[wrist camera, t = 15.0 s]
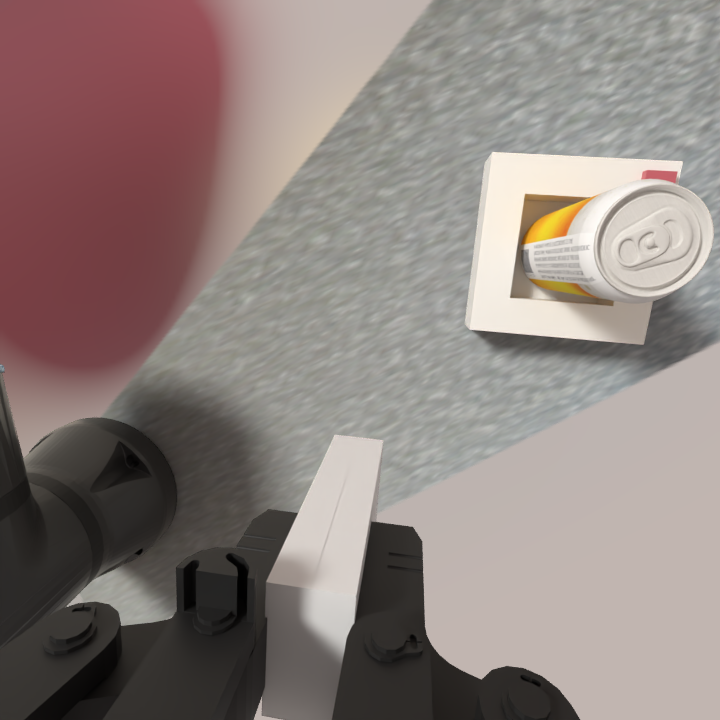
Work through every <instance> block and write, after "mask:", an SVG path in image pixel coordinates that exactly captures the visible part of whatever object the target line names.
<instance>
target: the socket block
mask: <svg viewBox="0 0 720 720" xmlns="http://www.w3.org/2000/svg"><path fill="white" fill-rule="evenodd" d="M682 164H683V161H664V160H643V159H622V158H602V157H581V156H561V155H540V154H519V153H499V152H492V153H491V155H490V156H489V158H488V159H487V161H486V162H485V166H484V174H483V182H482V190H481V198H480V206H479V214H478V222H477V230H476V238H475V246H474V254H473V262H472V270H471V278H470V286H469V294H468V302H467V310H466V318H465V325H466V326H467V327H468V328H469V329H470V330H481V331H492V332H503V333H515V334H526V335H537V336H549V337H560V338H572V339H583V340H594V341H606V342H617V343H628V344H640V345H644V341H645V337H646V332H647V327H648V323H649V318H650V313H651V309H652V304H653V301H651V302H647V303H637V304H633V303H624V302H618V301H612V300H606V299H600V298H594V297H588V296H583V295H577V294H571V293H565V292H559V291H553V290H548V289H544V288H541V287H539V286H537V285H536V284H534V283H533V282H532V281H531V280H530V279H529V278H528V277H527V276H526V275H525V273H524V271H523V269H522V266H521V263H520V246H521V242H522V239H523V237H524V235H525V233H526V232H527V230H528V229H529V228H530V226H531V225H532V224H533V223H534V222H536V221H537V220H538V219H540V218H541V217H543V216H545V215H547V214H550V213H552V212H555V211H557V210H560V209H562V208H565V207H568V206H570V205H573V204H575V203H578V202H580V201H583V200H586V199H588V198H591V197H593V196H596V195H598V194H601V193H603V192H606V191H609V190H611V189H614V188H616V187H619V186H621V185H624V184H627V183H630V182H633V181H637V180H642V179H660V180H666V181H669V182H673V183H675V184H677V185H678V182H679V178H680V173H681V168H682Z"/></svg>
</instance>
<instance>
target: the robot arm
mask: <svg viewBox="0 0 720 720" xmlns="http://www.w3.org/2000/svg"><path fill="white" fill-rule="evenodd" d="M3 372H4V366H3V365H1V364H0V720H254V717H255V714H256V711H257V708H258V705H259V703H260V700H261V697H262V716H267V717H272V718H278V719H284V720H580V719H579V717H578V715H577V714H576V712H575V710H574V709H573V707H572V706H571V704H570V703H569V702H568V700H567V699H566V698H565V697H564V695H563V694H562V693H561V692H560V690H559V689H558V688H556V687H555V686H554V685H552V684H551V683H550V682H549V681H547V680H546V679H545V678H543V677H542V676H540V675H538V674H535V673H533V672H531V671H529V670H526V669H524V668H518V667H509V666H505V667H501V668H498V669H494V670H491V671H490V672H489V673H488V674H487V675H486V676H485V677H484V678H483V679H482V680H481V679H478V678H476V677H474V676H472V675H470V674H468V673H466V672H463V671H461V670H459V669H458V668H456V667H454V666H453V665H451V664H449V663H448V662H447V661H446V660H445V659H443V658H442V657H441V656H440V655H439V654H438V653H437V652H436V650H435V649H434V648H433V646H432V645H431V643H430V641H429V639H428V637H427V635H426V630H425V617H424V584H423V560H422V559H423V552H422V541H421V539H420V537H419V536H418V534H417V533H416V531H415V529H414V528H413V527H409V526H402V525H394V524H386V523H379V522H376V516H377V505H378V494H379V483H380V472H381V461H382V450H383V440H377V439H368V438H360V437H351V436H342V435H335V436H334V438H333V440H332V442H331V444H330V446H329V448H328V451H327V453H326V455H325V457H324V459H323V461H322V463H321V466H320V468H319V470H318V472H317V474H316V476H315V478H314V480H313V483H312V485H311V487H310V489H309V491H308V493H307V495H306V498H305V500H304V502H303V504H302V506H301V508H300V510H299V513H292V512H285V511H277V510H270V509H268V510H267V511H266V512H264V513H263V514H261V515H260V516H258V517H257V518H255V519H254V520H253V521H252V522H251V524H250V526H249V527H248V529H247V530H246V532H245V534H244V537H242V538H241V540H240V541H239V543H238V545H237V548H235V549H234V548H213V549H208V550H204V551H200V552H198V553H196V554H194V555H192V556H190V557H188V558H186V559H185V560H184V561H183V562H182V563H181V564H179V565H178V566H177V567H176V586H177V612H176V613H175V614H174V616H173V617H172V618H171V619H168V620H164V621H159V622H153V623H144V624H135V625H127V626H121V622H120V618H119V613H118V611H117V610H115V609H114V608H113V607H112V606H110V605H109V604H104V603H99V602H87V603H78V604H75V605H72V606H69V607H66V606H67V605H68V604H69V603H70V602H71V601H72V600H73V599H74V598H75V597H76V596H77V595H78V594H79V593H80V592H81V591H82V590H83V589H84V588H85V587H86V586H87V585H88V584H89V583H90V582H91V581H92V580H94V579H96V578H98V577H100V576H102V575H104V574H106V573H108V572H110V571H112V570H114V569H116V568H118V567H120V566H121V565H123V564H125V563H128V562H130V561H132V560H134V559H136V558H138V557H139V556H141V555H142V554H144V553H145V552H146V551H148V550H149V549H150V548H151V547H152V546H153V545H154V544H155V543H156V542H157V541H158V540H159V539H160V537H161V536H162V535H163V534H164V533H165V532H166V530H167V529H168V527H169V526H170V524H171V522H172V519H173V517H174V513H175V509H176V500H177V495H176V486H175V481H174V478H173V474H172V472H171V469H170V467H169V465H168V463H167V461H166V460H165V458H164V456H163V455H162V453H161V452H160V451H159V450H158V448H157V447H156V446H155V445H154V444H153V443H152V442H151V441H150V440H149V439H148V438H147V437H146V436H144V435H143V434H142V433H140V432H139V431H137V430H136V429H134V428H132V427H130V426H128V425H126V424H124V423H121V422H118V421H115V420H111V419H106V418H85V419H80V420H77V421H74V422H71V423H69V424H67V425H65V426H63V427H60V428H58V429H56V430H54V431H52V432H51V433H49V434H48V435H46V436H45V437H43V438H42V439H41V440H40V441H39V442H38V443H37V444H36V445H35V446H34V447H33V448H32V450H31V451H30V452H29V454H28V455H27V456H26V457H25V458H24V459H23V456H22V453H21V448H20V444H19V440H18V436H17V432H16V428H15V424H14V420H13V416H12V412H11V408H10V404H9V400H8V396H7V392H6V388H5V384H4V380H3V375H2V373H3ZM65 607H66V608H65Z"/></svg>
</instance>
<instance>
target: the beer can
mask: <svg viewBox="0 0 720 720" xmlns="http://www.w3.org/2000/svg"><path fill="white" fill-rule="evenodd" d="M713 240H714V226H713V221H712V217H711V214H710V212H709V210H708V208H707V206H706V205H705V204H704V202H703V201H702V200H701V199H700V198H699V197H698V196H697V195H696V194H694V193H693V192H691V191H690V190H688V189H686V188H684V187H681V186H679V185H677V184H675V183H673V182H669V181H666V180H660V179H642V180H637V181H633V182H630V183H627V184H624V185H621V186H619V187H616V188H614V189H611V190H609V191H606V192H603V193H601V194H598V195H596V196H593V197H591V198H588V199H586V200H583V201H580V202H578V203H575V204H573V205H570V206H568V207H565V208H562V209H560V210H557V211H555V212H552V213H550V214H547V215H545V216H543V217H541V218H540V219H538V220H537V221H536V222H534V223H533V224H532V225H531V226H530V228H529V229H528V230H527V232H526V233H525V235H524V237H523V239H522V242H521V246H520V263H521V266H522V269H523V271H524V273H525V275H526V276H527V277H528V278H529V279H530V280H531V281H532V282H533V283H534V284H536V285H537V286H539V287H541V288H544V289H548V290H553V291H559V292H565V293H571V294H577V295H583V296H588V297H594V298H600V299H606V300H612V301H618V302H624V303H633V304H637V303H647V302H651V301H655V300H658V299H661V298H663V297H665V296H667V295H669V294H671V293H673V292H674V291H676V290H677V289H679V288H681V287H682V286H684V285H686V284H687V283H688V282H689V281H691V280H692V279H693V278H694V277H695V276H696V275H697V274H698V273H699V271H700V270H701V269H702V267H703V266H704V265H705V263H706V261H707V259H708V257H709V255H710V252H711V249H712V245H713Z"/></svg>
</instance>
